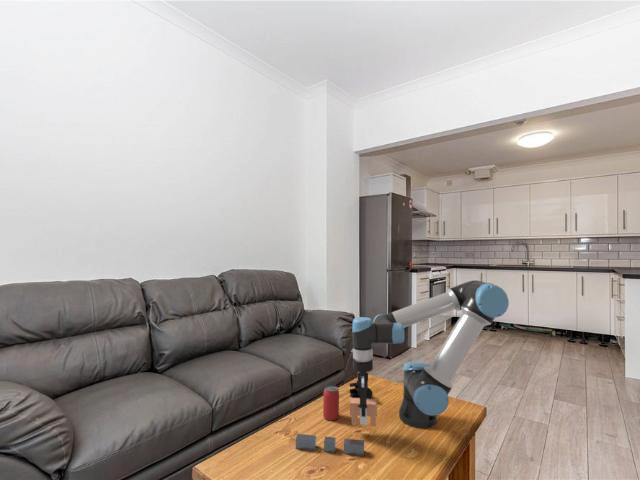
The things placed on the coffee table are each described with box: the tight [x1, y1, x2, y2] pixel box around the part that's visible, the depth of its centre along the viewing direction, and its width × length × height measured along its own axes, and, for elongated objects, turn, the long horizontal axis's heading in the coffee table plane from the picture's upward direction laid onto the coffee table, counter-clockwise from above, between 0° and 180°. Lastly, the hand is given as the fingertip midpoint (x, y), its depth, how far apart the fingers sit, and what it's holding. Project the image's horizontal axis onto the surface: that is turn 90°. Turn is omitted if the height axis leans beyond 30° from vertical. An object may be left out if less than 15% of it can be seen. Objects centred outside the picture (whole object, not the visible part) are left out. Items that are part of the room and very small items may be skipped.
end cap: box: [349, 379, 373, 399], centre depth 155 cm, size 10×7×7 cm
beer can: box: [322, 385, 340, 421], centre depth 138 cm, size 7×7×12 cm
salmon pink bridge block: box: [349, 397, 378, 427], centre depth 125 cm, size 10×4×8 cm, turn 82°
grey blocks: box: [295, 433, 365, 457], centre depth 116 cm, size 24×3×4 cm, turn 82°
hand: (363, 420), depth 125 cm, fingers closed on salmon pink bridge block, 4 cm apart
